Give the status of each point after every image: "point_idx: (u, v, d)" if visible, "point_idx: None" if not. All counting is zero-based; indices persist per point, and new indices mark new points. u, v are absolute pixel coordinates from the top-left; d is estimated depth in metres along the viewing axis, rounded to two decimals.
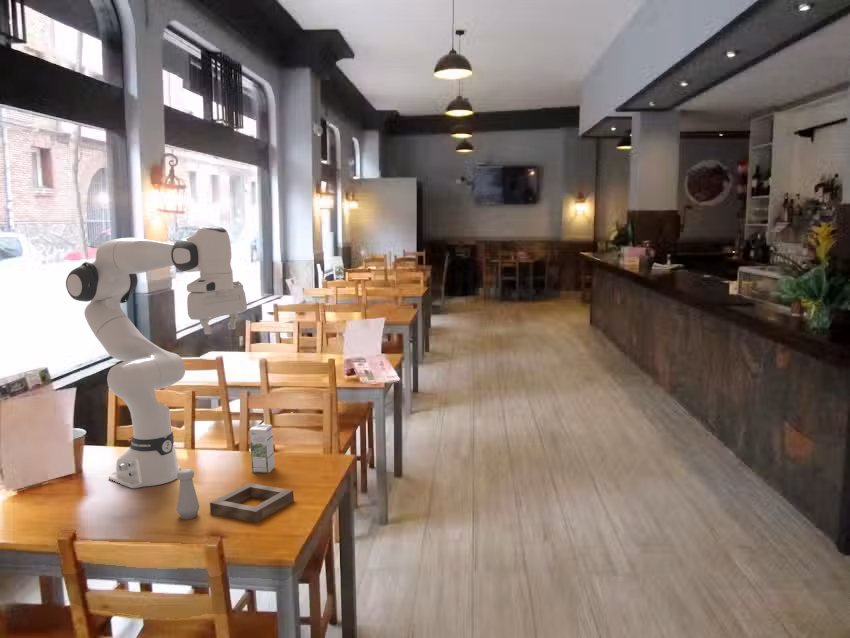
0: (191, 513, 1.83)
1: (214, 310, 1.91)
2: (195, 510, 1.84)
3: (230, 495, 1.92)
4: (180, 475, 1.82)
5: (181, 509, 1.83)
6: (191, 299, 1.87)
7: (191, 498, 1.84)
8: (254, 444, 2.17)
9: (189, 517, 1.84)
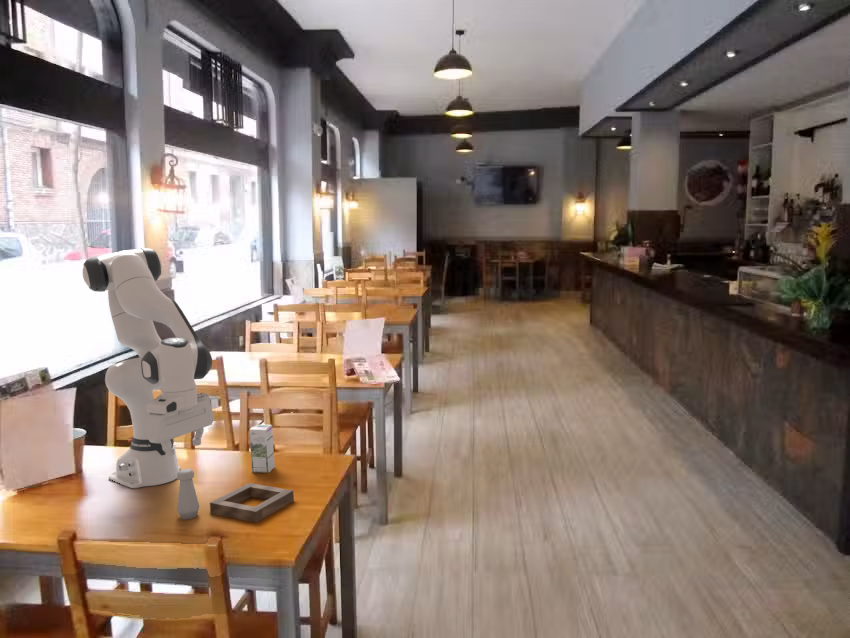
0: (191, 513, 1.83)
1: (176, 430, 1.78)
2: (195, 510, 1.84)
3: (230, 495, 1.92)
4: (180, 475, 1.82)
5: (181, 509, 1.83)
6: (150, 422, 1.74)
7: (191, 498, 1.84)
8: (254, 444, 2.17)
9: (189, 517, 1.84)
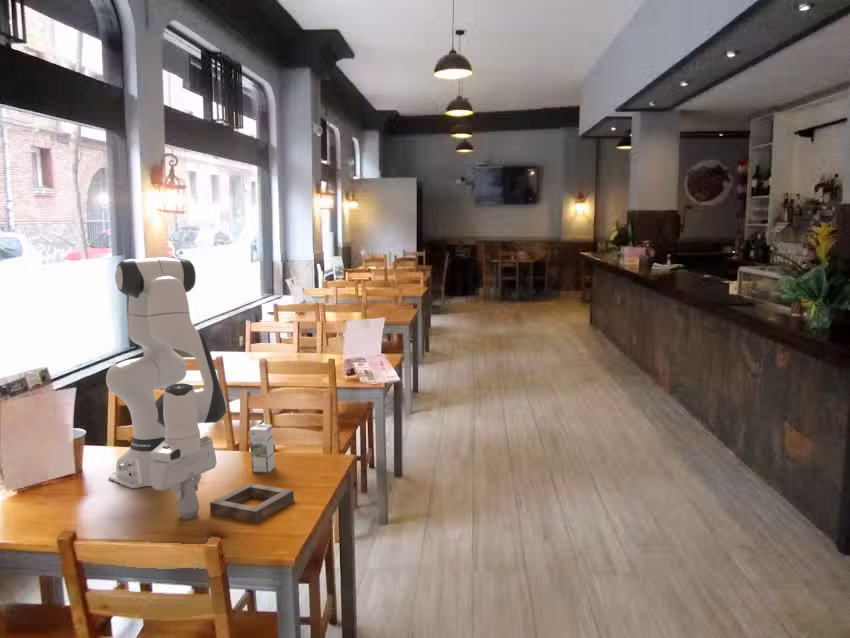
0: (191, 513, 1.83)
1: (180, 476, 1.80)
2: (195, 510, 1.84)
3: (230, 495, 1.92)
4: None
5: (181, 509, 1.83)
6: (154, 469, 1.75)
7: (191, 498, 1.84)
8: (254, 444, 2.17)
9: (189, 517, 1.84)
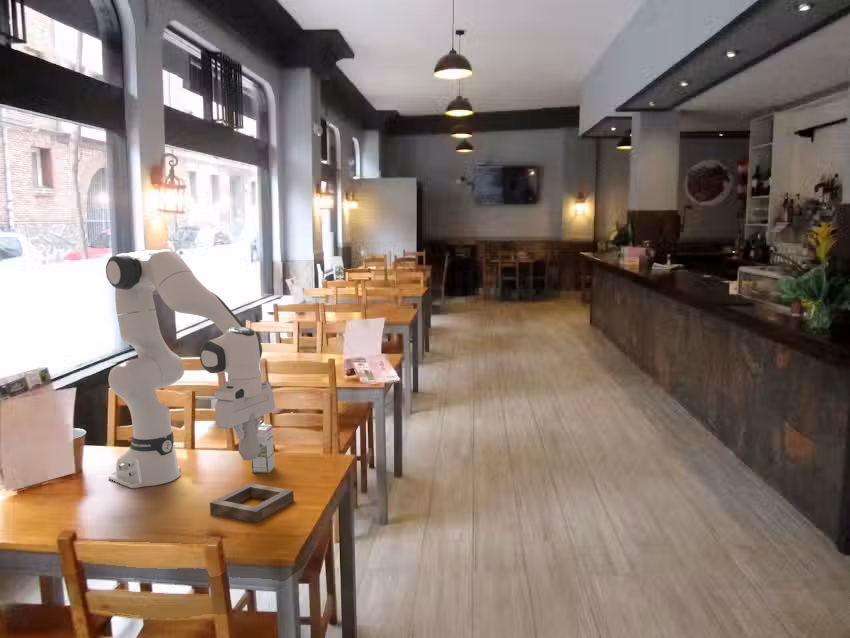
0: (253, 453, 1.87)
1: (243, 417, 1.84)
2: (257, 451, 1.87)
3: (230, 495, 1.92)
4: None
5: (243, 450, 1.86)
6: (219, 408, 1.79)
7: (253, 439, 1.87)
8: None
9: (251, 458, 1.87)
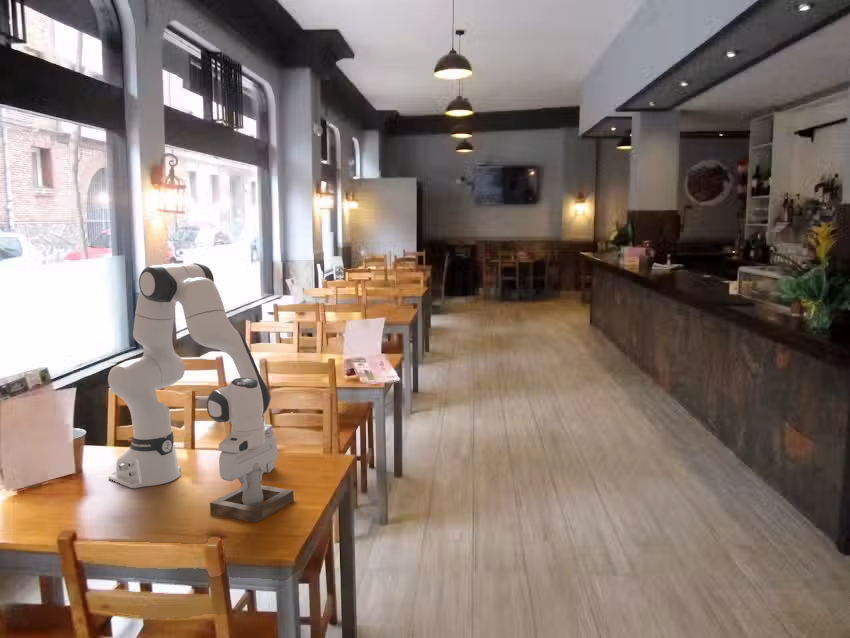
0: (257, 503, 1.88)
1: (247, 467, 1.85)
2: (260, 501, 1.89)
3: (230, 495, 1.92)
4: None
5: (247, 500, 1.88)
6: (223, 460, 1.81)
7: (257, 488, 1.89)
8: None
9: None
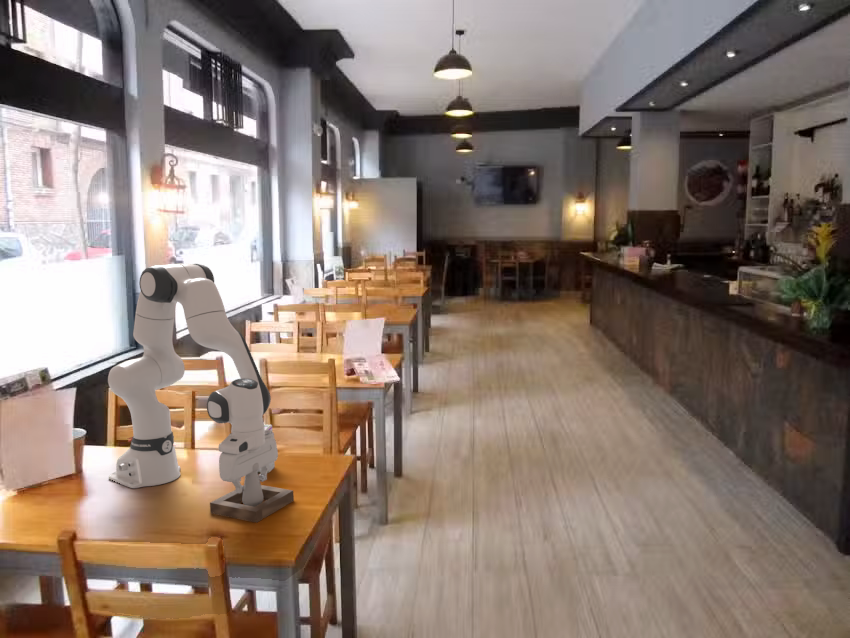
0: (257, 503, 1.88)
1: (246, 468, 1.85)
2: (260, 501, 1.89)
3: (230, 495, 1.92)
4: None
5: (247, 500, 1.88)
6: (223, 461, 1.81)
7: (257, 488, 1.89)
8: None
9: None
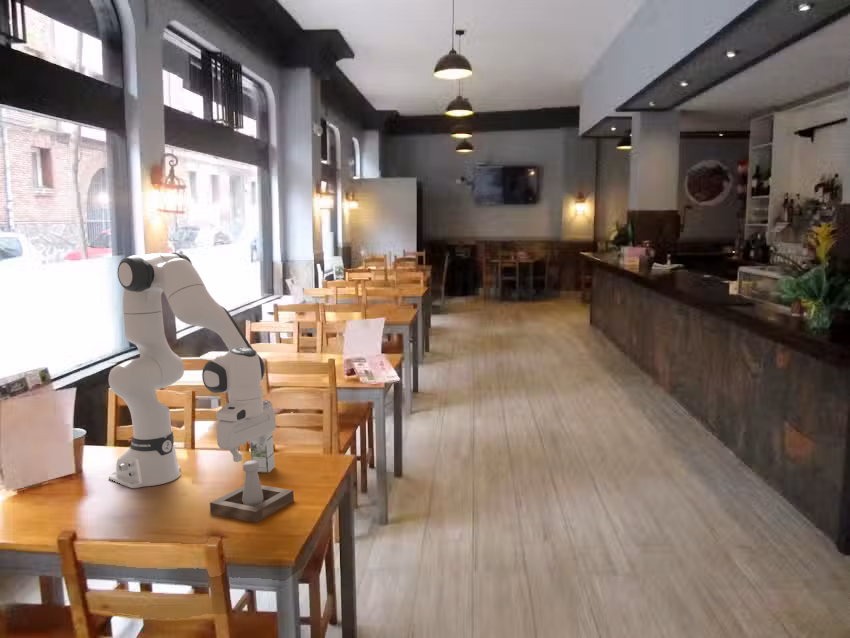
0: (257, 503, 1.88)
1: (244, 437, 1.84)
2: (260, 501, 1.89)
3: (230, 495, 1.92)
4: (246, 466, 1.87)
5: (247, 500, 1.88)
6: (220, 429, 1.80)
7: (257, 488, 1.89)
8: (254, 444, 2.17)
9: None
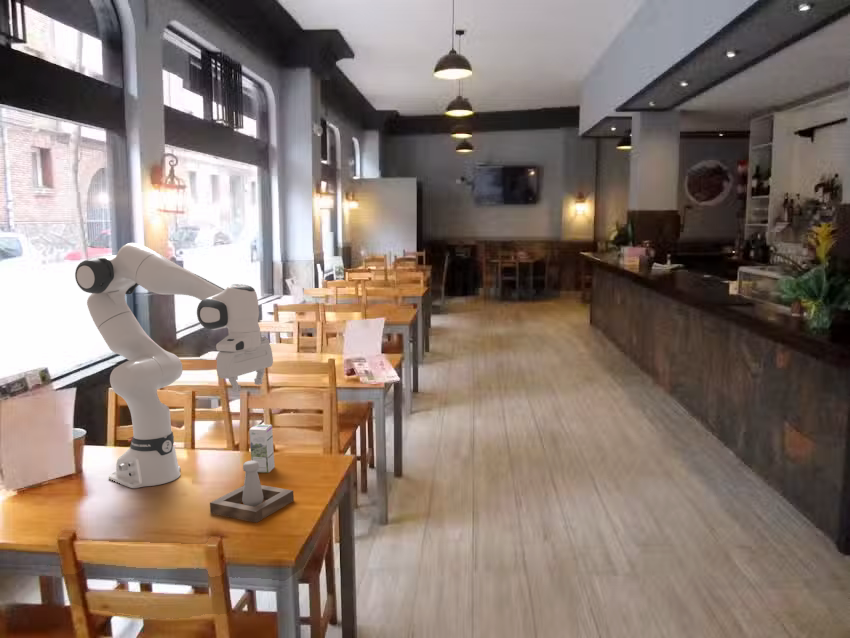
0: (257, 503, 1.88)
1: (243, 368, 1.95)
2: (260, 501, 1.89)
3: (230, 495, 1.92)
4: (246, 466, 1.87)
5: (247, 500, 1.88)
6: (220, 359, 1.90)
7: (257, 488, 1.89)
8: (254, 444, 2.17)
9: None
